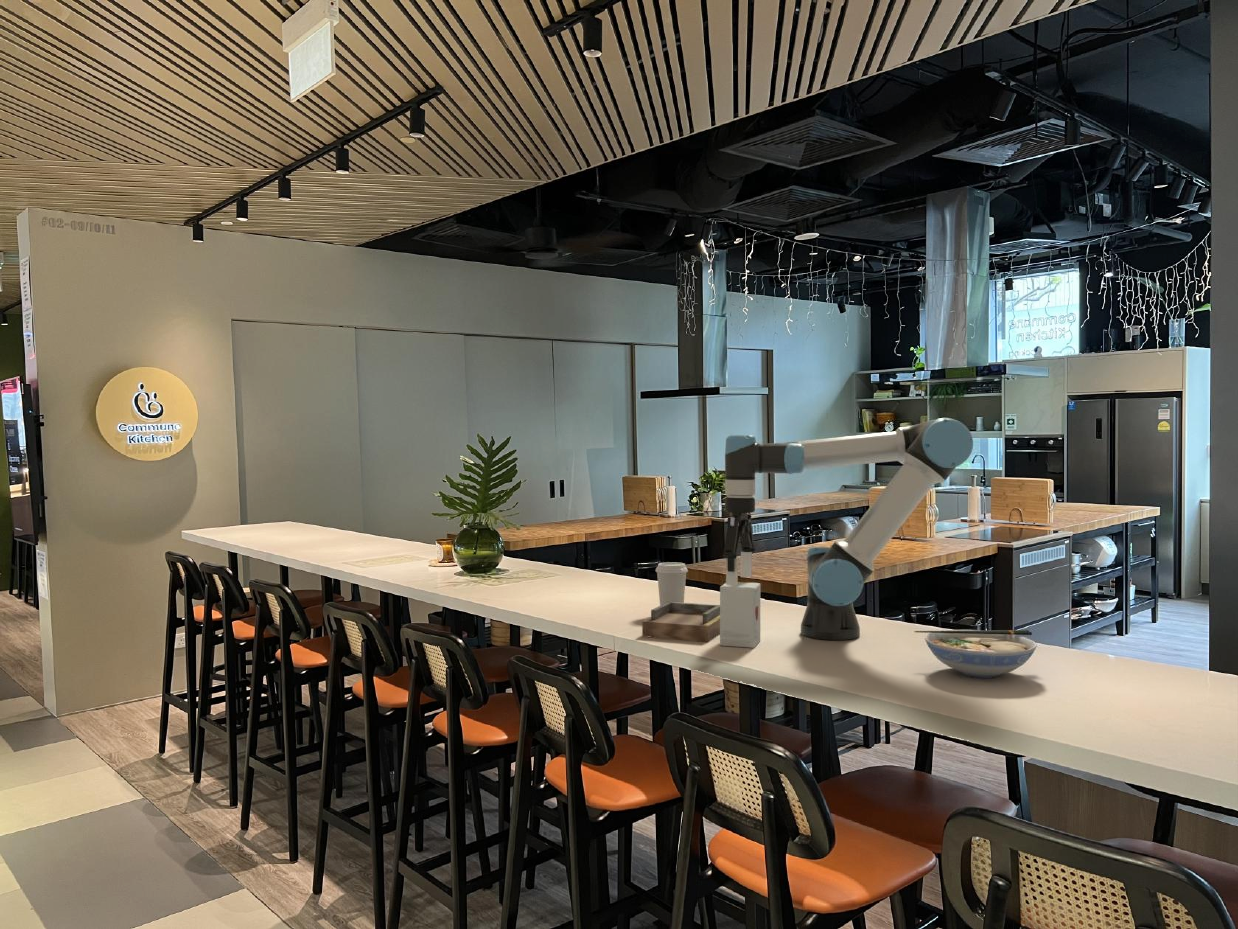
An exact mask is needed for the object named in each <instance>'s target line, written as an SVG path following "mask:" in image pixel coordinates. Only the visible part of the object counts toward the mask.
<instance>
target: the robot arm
mask: <svg viewBox="0 0 1238 929" xmlns="http://www.w3.org/2000/svg"><path fill="white" fill-rule="evenodd" d="M972 435H973V434H972V433H971V431H970V430H969V428H968V427H967V425H965V424H964V423H962V422H961V421H959V420H956V419H954V418H950V417H941V418H937V419H932V420H930V419H929V420H927V421H924V422H921V423H918V424H917V423H916V424H914V425H913V424H912V425H908V426H900V427H898V428H897V429H896V430H895V431H889V432H877V433H869V434H868V433H867V434H859V435H857V434H856V435H849V436H839V437H837V436H836V437H829V438H818V439H817V438H816V439H807V440H800V441H799V440H798V441H788V442H773V443H763V442H761V443H760V442H757V439H756V436H755V435H751V434H750V435H743V434H742V435H741V434H740V435H739V434H737V435H736V434H733V435H732V434H730V435H728V436H727V437H726V439H725V448H724V449H725V451H724V469H725V470H724V474H725V476H724V479H725V480H724V482H723V483H722V484H723V485H722V486H723V487H724V494H725V495H726V496H727V497H725V498H724V511H725V512H726V513H730V514H731V517H727V527H726V532H725V533H726V534H725V535H726V536H725V541H724V548H723V553H722V558H723V559H725V583H726V585H738V582H739V581H738V580H739V578H738V576H739V574H738V573H739V571H738V570H739V565H738V564H739V558H737V557H738V556H737V555H738V552H739V547H741V552H740V578H749V579H750V578H752V576H753V575H752V573H753V572H752V571H753V553H755V552H756V547H755V542H754V533H753V524H752V514H753V513H754V512H755V511H756V499H755V497H754V496H756V474H788V475H792V474H801V473H802V472H804V470H810V469H821V468H823V469H824V468H833V467H844V466H854V465H856V466H857V465H866V464H877V463H888V462H899V463H900V464H902V466H901V467H900V468H899V470H898V471H897V472H896V473H895V475H894V476H893V477H892V478H891V480H890V481H889V482H888V483H887V485H886V486H885V488H883V490H882V491H881V493H879V495H878V496H877V498H876V499H875V500H874V501H873V503H872V504H871V505H870V507H869V508H868V509H867V510H866V512H865V513H864V514H863V515H862V517H861V518H860V519H859V520H858V522H857V523H856V524H855V526H854V527H853V528H852V529H851V531H850V532H849V533H848V535H847V536H846V538H844V539H843V540H835V541H834V542H833V544H832V545H831V546H819V547H818V546H815V547H814V546H813V547H810V548H808V550H807V556H806V561H807V605H806V608H805V612H804V614H803V618H802V621H801V623H800V634H801V635H803V636H804V637H807V638H811V639H817V640H825V641H826V640H827V641H828V640H832V641H842V640H843V641H846V640H852V639H857V638H859V637H860V636H861V633H860V632H861V627H860V624H859V621H858V617H857V615H856V610H855V609H854V602H855V601H856V600H857V599H858V597H859V596H860V595H861V593H862V592H863V588H864V584H865V583H866V581H868V579H869V578H870V576H871V575H872V574H873V572H874V571H875V568H874V561H875V560H876V559H877V558H878V556H879V555H880V553H881V552H882V551H883V550H884V548H886V546H887V544H889V542H890V541H891V539H892V538H893V537H894V536H895V534H897V532H898V531H899V529H900V528H901V527H902V526H903V525H904V523H905V522H906V521H907V519H908V518H909V517H910V515H911V514H912V513H913V512H914V511H915V509H916V508H917V506H918V505H919V504H921V502H922V501H923V499H924V498H925V496H927V494H928V493H929V492H930V490H931V489H932V487H933V486H935V485H936V484H938V483H939V484H941V483H945V481H946V480H947V479H948V478H949V477H950V476H951V474H952V473H953V472H954V471H955V469H957V467H960V466H962V465H963V464H964V463H965V462H966V461H968V459H969V457H970V456H971V455H972V452H973V449H974V440H973V436H972ZM751 513H752V514H751Z"/></svg>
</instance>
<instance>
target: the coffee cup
mask: <svg viewBox="0 0 1238 929" xmlns="http://www.w3.org/2000/svg"><path fill="white" fill-rule="evenodd" d="M655 572H656V574H657V584H658V597H659V606H661V605H663V604H665V603H667V602H679V603H685V593H686V592H685V591H686V579H687V573H688V572H689V570H688V568H687V567H686V563H683V562H676V561H675V562H673V561H672V562H669V561H667V562H660V563H658V565H657V567H656V568H655Z"/></svg>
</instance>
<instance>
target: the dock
mask: <svg viewBox="0 0 1238 929" xmlns="http://www.w3.org/2000/svg"><path fill="white" fill-rule="evenodd" d="M641 625H642V626H641V627H642V628H641V630H642V631H641V634H642V636H651V637H650V638H653V637H657V638H656V639H668V640H678V641H679V640H680V641H690V642H703V643H704V642H706V643H709V642H711V641H712V640H714V639H716V636H717V637H719V636H720V604H705V603H691V602H684V603H679V602H667V603H665V604H663V605H661V606H660V605H658V606H657V607H655V608H653V609H651V610H650V617H648V618H646V619H644V620H642V622H641ZM642 636H641V637H642Z"/></svg>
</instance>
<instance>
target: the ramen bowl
mask: <svg viewBox="0 0 1238 929" xmlns="http://www.w3.org/2000/svg"><path fill="white" fill-rule="evenodd" d="M914 633H924V634H925V633H927V634H925V635H924V640H925V642H926V645H927V647H928V648H929V650H930V652H932V655H933V656H935V658H936V659H937V660H938V661H940V662H941V663H943V664H944V665H946V666H947V667H950V668H951V669H954V670H955V671H958V672H959V673H961V674H963V675H964V674H965V676H968V677H972V676H974V677H973V678H980V677H981V678H984V679H986V678H987V679H988V678H989V679H992V678H996V677H998V676H999V675H1003V674H1007V673H1010V672H1013V671H1015V670H1017V669H1018V668H1021V666H1023V665H1025V663H1026V662H1027V661H1029V660H1030V658H1031V657H1032V656H1033V654H1034V652H1035V651H1036V649H1037V647H1038V645H1037V643H1036V641H1034V640H1032V639H1030V638H1028V637H1026V636H1032V635H1033V633H1032V631H1030V630H1029V629H1020V630H1019V629H1018V630H1016V629H1014V630H1013V629H1011V630H1007V629H1006V630H1005V629H1004V630H1002V629H1001V630H999V629H998V630H995V629H994V630H982V629H981V630H979V629H978V630H977V629H944V630H919V631H918V630H914ZM1024 636H1025V637H1024ZM981 678H980V679H981Z"/></svg>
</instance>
